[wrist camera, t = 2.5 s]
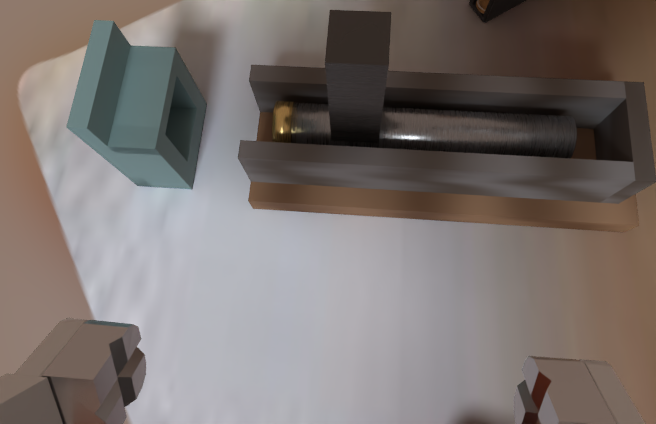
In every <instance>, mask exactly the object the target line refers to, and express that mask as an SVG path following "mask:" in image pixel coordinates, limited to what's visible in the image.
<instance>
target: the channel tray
mask: <svg viewBox="0 0 656 424" xmlns="http://www.w3.org/2000/svg"><path fill="white" fill-rule="evenodd" d="M249 82H250V85H251V87H252V90H253V93H254V96H255V99H256V101H257V104H258V107H259V110H260V118H259V125H258V133H257V140H256V141H243V140H240V147H239V154H238V159H239V161H240V163H241V164H242V166H243V168H244V170H245V172H246V173H247V175H248V177H249V179H250V181H251V185H250V192H249V200H248V201H249V203H250V204H251V206H252V207H253V209H269V210H285V211H300V212H316V213H331V214H347V215H363V216H378V217H394V218H410V219H425V220H441V221H456V222H472V223H488V224H503V225H519V226H535V227H550V228H566V229H582V230H597V231H613V232H626V231H628V230H630V229H633V228H635V227H637V226H639V219H638V210H637V201H636V193H638V192H640V191H641V190H643V189H645V188H647V187H648V186H650V185H652V184H653V183H655V182H656V175H655V167H654V159H653V151H652V143H651V135H650V127H649V119H648V111H647V103H646V95H645V87H644V82H623V81H600V80H578V79H556V78H533V77H511V76H489V75H467V74H444V73H422V72H400V71H388V73H387V80H386V88H385V95H384V103H383V107H394V108H414V109H434V110H454V111H475V112H495V113H515V114H535V115H555V116H571V117H573V118H574V120H575V123H576V127H577V140H576V146H575V150H574V153H573V155H572V157H571V158H552V157H534V156H516V155H498V154H480V153H461V152H443V151H425V150H407V149H389V148H371V147H352V146H334V145H316V144H298V143H280V142H273V138H272V120H273V111H274V106H275V103H276V101H291V102H296V103H313V104H328V93H327V80H326V68H311V67H288V66H266V65H251V71H250V78H249Z"/></svg>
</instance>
